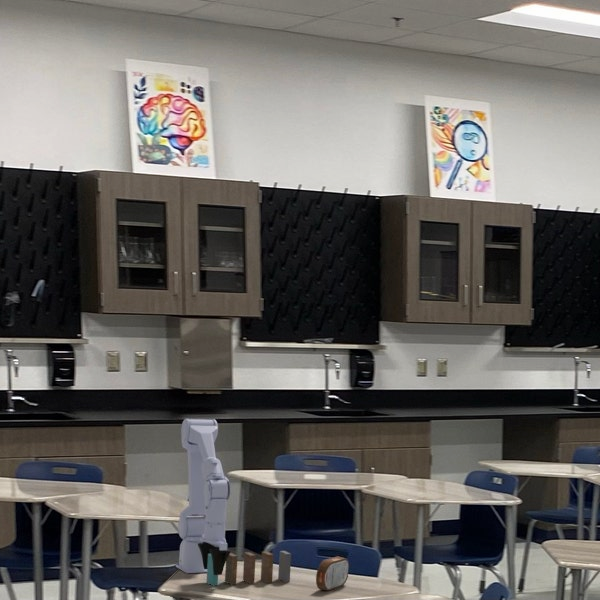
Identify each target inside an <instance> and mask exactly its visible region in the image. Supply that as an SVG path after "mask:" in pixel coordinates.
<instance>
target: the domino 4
mask: <svg viewBox="0 0 600 600" xmlns="http://www.w3.org/2000/svg"><path fill="white" fill-rule="evenodd" d="M291 563H292V553H290V552H288V551H286V550H279V557H278V573H277V574H278V575H277V576H278V577H277V579H278V580H279V579H280V580H279V581H281V580H282V581H281V582H283V583H291V582H290V581H291V566H292V565H291Z"/></svg>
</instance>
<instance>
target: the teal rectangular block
mask: <svg viewBox="0 0 600 600" xmlns="http://www.w3.org/2000/svg"><path fill="white" fill-rule="evenodd" d="M208 583H209V584H211V585H219V575H214V572H213V561H212V556H211V554H208V564H207V572H206V584H208ZM209 584H208V585H209ZM211 585H210V586H211Z"/></svg>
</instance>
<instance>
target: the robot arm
mask: <svg viewBox="0 0 600 600" xmlns="http://www.w3.org/2000/svg"><path fill="white" fill-rule="evenodd" d="M180 431H181V433H180V436H181V437H180V439H181V442H180V443H181V446H182V448H183V449H185V450H186V452H187V467H188V468H187V471H188V473H187V474H188V475H187V476H188V479H187V480H188V481H187V482H188V483H187V484H188V506H187V507H186V508H184V509H183V510H182V511H181V512H180V514H179V520H178V535H179V537H180V539H182V541H181V543H180V545H179V560H178V564H177V565H175V567H176V568H177V569H179V570H181V571H182V572H184V573H185V574H197V573H199V574H200V573H201V574H202V573H207V564H208V554H211V556H212V561H213V572H214V575H218V576H220V575H222V574H223V572H224V568H225V566H226V559H227V557H228V556H229V554H230V553H232V552H231V551H232V550H230V549H228V543H227V540H226V521H227V519H226V518H227V502H228V500H229V499H230V496H231V484H230V480H229V479H228V477H227V476H225V474H224V471H223V467H222V466H223V465H222V462H221V460H220V459H219V458H217V457H216V449H215V442H216V439H217V437H218V434H219V424H218V422H217V420H216V419H215V418H213V419H204V418H203V419H199V418H197V419H196V418H184V420H183V421H182V425H181V430H180Z"/></svg>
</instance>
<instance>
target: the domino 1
mask: <svg viewBox="0 0 600 600" xmlns="http://www.w3.org/2000/svg"><path fill="white" fill-rule="evenodd" d="M238 557H239V556H238V555H236V554H234V553H232V552H230V554H229V556H228V557H227V559H226V562H225V572H224V574H225V575H224V582H225V581H226V582H228V583H230V584H236V585H237V575H238V574H237V573H238ZM226 582H225V583H226ZM228 583H227V584H228ZM230 584H229V585H230Z"/></svg>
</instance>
